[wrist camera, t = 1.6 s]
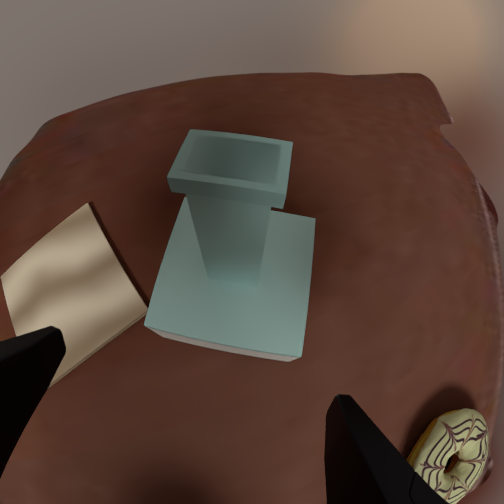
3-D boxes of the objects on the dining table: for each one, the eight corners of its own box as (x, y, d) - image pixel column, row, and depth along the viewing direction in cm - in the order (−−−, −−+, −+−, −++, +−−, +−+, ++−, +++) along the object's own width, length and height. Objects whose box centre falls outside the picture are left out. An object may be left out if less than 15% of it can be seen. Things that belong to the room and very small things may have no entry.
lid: (295, 358, 18) (375, 323, 7) (151, 330, 18) (53, 260, 7) (310, 230, 22) (358, 108, 11) (188, 210, 22) (159, 84, 12)
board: (150, 311, 21) (148, 309, 21) (43, 392, 17) (39, 392, 17) (89, 205, 26) (87, 202, 25) (3, 278, 21) (0, 276, 21)
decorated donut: (482, 411, 17) (506, 409, 14) (451, 500, 13) (472, 507, 9) (417, 404, 19) (443, 404, 15) (377, 507, 14) (396, 521, 11)
